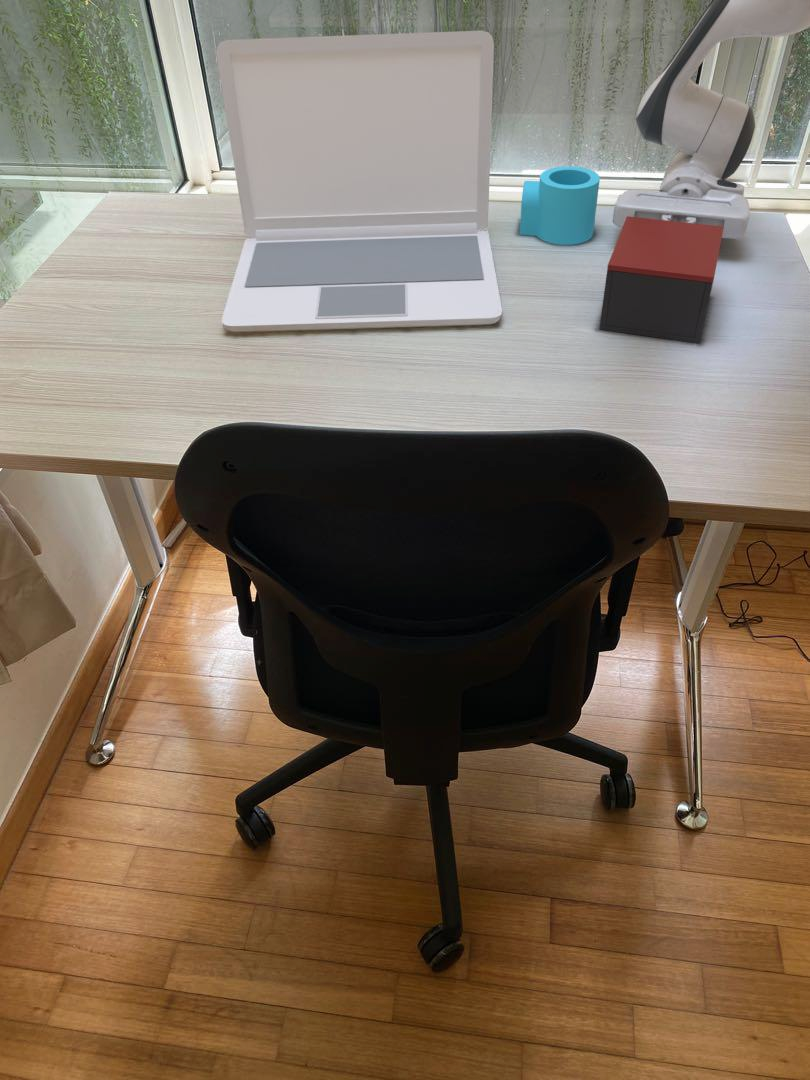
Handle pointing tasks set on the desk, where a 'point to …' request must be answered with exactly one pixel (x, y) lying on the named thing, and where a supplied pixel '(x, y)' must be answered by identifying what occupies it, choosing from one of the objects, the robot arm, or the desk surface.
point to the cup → (560, 205)
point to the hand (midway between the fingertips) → (674, 235)
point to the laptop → (361, 180)
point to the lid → (667, 249)
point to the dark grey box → (654, 306)
